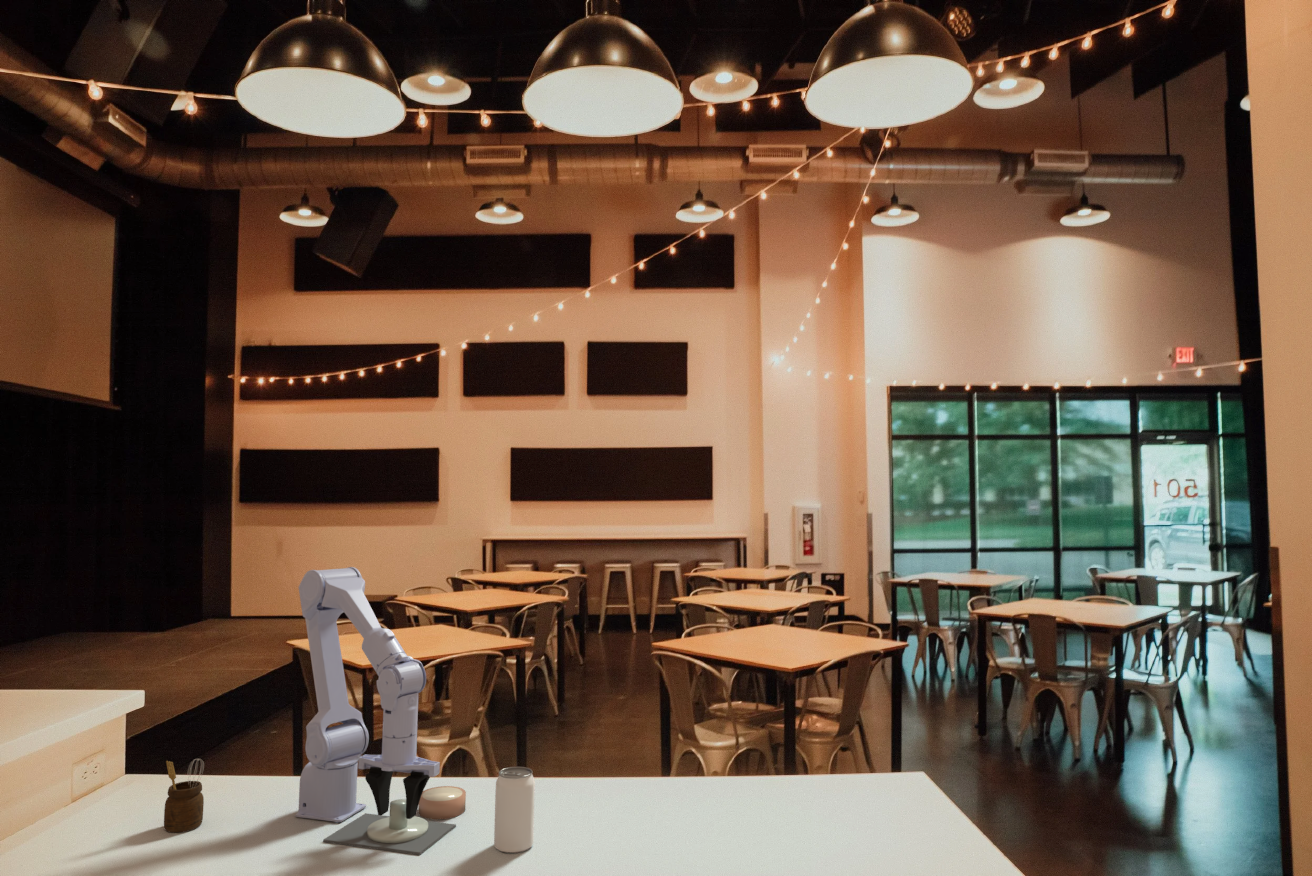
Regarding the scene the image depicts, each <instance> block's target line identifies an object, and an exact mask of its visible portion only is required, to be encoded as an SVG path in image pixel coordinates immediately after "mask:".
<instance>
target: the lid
mask: <svg viewBox="0 0 1312 876" xmlns="http://www.w3.org/2000/svg"><path fill="white" fill-rule="evenodd" d="M388 816H389V817H387V818H383V819H380V820H377V821H375V822H373V823H372V824H370V825H369V827H368V828H367V836H368V838H369V839H371V840H373V841H376V842H381V843H401V842H407V841H411V840H414V839H417V838H419V837H421V836H423V835H424V834H426V833H427V831H428V822H427V821H428V820H427V819H426V818H423V817H421V816H417V815H415V816H414V817H412V818H411V819H406V799H401V798H400V799H394V800H391V801H389V815H388Z"/></svg>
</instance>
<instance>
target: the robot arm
mask: <svg viewBox="0 0 1312 876" xmlns="http://www.w3.org/2000/svg"><path fill="white" fill-rule="evenodd" d="M365 590H366V580H365V579H364V578H363V576H362V574H361V571H360V570H359V569H358V568H357V567H354V566H348V567H345V568H332V569H310V570H307V571H306V572H305V574H304V575H303V577H302V579H301V581H300V583H299V585H298V592H299V598H300V600H299V601H300V606H301V607H300V608H301V613H302V617H303V618H304V619H305V620H304V621H305V626H306V633H307V640H308V647H309V654H310V660H311V667H312V669H311V670H312V675H313V682H314V689H315V690H314V691H315V696H316V703H317V710H318V711H317V713H316V714H315V715H314V716H313V717H312V719H311V720H310V721H309V722H308V723H307V725H306V726H305V729H306V741H305V755H306V757H307V760H308V763H307V764H305V766H304V767H303V769H302V771H301V774H300V777H299V787H298V788H299V793H298V812H296V813H295V817H296V818H304V819H311V820H319V821H327V822H335V823H342V822H343V821H345V820H348V818H350V817H352V816H353V815H355V814H357V813H359V812H360V811H362V810H363V809H366V807H367V804H365V803H359V802H357V792H358V789H357V788H358V787H357V786H358V770H366V769H367V770H368V769H369V771H368V772H367V774H365V781H366V782H367V784H368V787H369V788H370V790H371V793H372V795H373V798H374V803H375V806H376V811H377V815H383V816H384V814H386V813H387V812H389V809H390V793H391V792H390V790H391V783H392V779H393V774H394V772H395V773H396V772H398V773H405V774H410V775H408V776H406V777H404V778H403V779H402V782H403V787H404V791H405V800H406V819H411V818H412V817H414V816H417V814H418V813H417V812H418V806H419V801H420V798H421V795H422V792H423V791H424V789H425V787H426V786H427V784H428V782H429V780H430V778H431V777H432V778H435V777H436V776H437V775H439V774H440V769H441V768H440V767H441V764H440V763H441V762H440V761H435V760H430V759H427V758H423V757H419V756H417V749H418V747H417V744H418V722H419V721H418V720H419V719H418V717H419V716H418V715H419V713H418V712H419V693H421V692H422V691H424V689H425V687H426V684H427V672H426V670H425V667H424V665H423V663H422V662H421V661H420V660H419V659H414V658H413V656H412V655H411V656H410V655H407V653H406V652H405V650H404V648H403V647H402V645H401V644H400V642H399V640H398V639H397V638H396V634H394V632H393V631H392V630H391V629H389V628H384V627H382V626H381V623H380V622H379V620H378V618H377V617H376V614H375V612H374V610H373V609H372V607H371V604H370V603H369V601H368V598H367V597H366V594H365ZM343 613H344V614H345V616H346V617H347V618H348V620H349V621H350V622H351V623H352V624H353V626H354V627H355V629H356V630H357V632H358V633H359V634H360V635H361V637H362V638H363V641H362V643H361V650H362V651H363V653H364V655H365V656H366V658H367V659H368V661H369V663H370V665H371V666H372V668H373V669H374V671H375V672H376V675H377V676H378V679H377V680H376V689H377V691H378V694H379V697H380V706H381V709H382V711H383V714H382V740H381V754H365V752H366V751H367V748H368V746H369V740H370V735H369V730H368V728H367V727H366V725H365V722H364V719H363V713H362V711H360V710H358V709H357V708H355V707H354V706H352V705H350V703H349V698H348V690H347V683H346V676H345V671H344V669H345V668H344V663H343V657H342V650H341V643H340V636H339V629H338V625H337V624H338V623H337V622H338V621H337V620H338V619H339V617H340V616H341V615H342V614H343ZM336 723H341V724H337V725H334V726H330V725H333V724H336ZM328 726H330V727H328Z"/></svg>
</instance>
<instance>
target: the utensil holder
mask: <svg viewBox="0 0 1312 876" xmlns="http://www.w3.org/2000/svg"><path fill="white" fill-rule="evenodd" d="M195 761H196V763H195ZM199 761H201V766H202V768H200V771H199V772H201V773H202V774H203V772H204V771H203V770H204V768H205V766H204V764H205V763H204V761H202V759H201V758H195V759H193V760H192V762H189V765H188V769H187V772H188V775H189V778H191V776H192V772H191V771H190V770H192V768H193V767H191V766H193V764H194V763H195V765H196V766H195V769H194V770H195V771H194V772H193V774H194V776H193V780H191V779H189V780H187V781H186V780H185V781H180V782H175V781H176V780H175V779H177V776H176V771H175V766H174V762H173V761H168V760H166V761H165V763H166V768H167V769H166V770H167V772H168V773H167V774H168V778H169V779H170V780H171V783H172V784H171V785H170V786H169V787H168V789H167V796H168V797H167V798H166V800H165V803H164V810H163V811H164V813H163V815H164V816H163V828H164V831H165V832H166V833H172V834H175V833H176V834H179V833H186V832H189V831H192V830H193V831H194V830H195V829H197V828H199V827H200V826H201V825H202V823H203V820H204V819H203V818H204V805H205V804H204V802H205V801H204V794H203V793H202V791H203V785H202V782H201V781H200V780H195V777H196V775H197V774H196V772H198V769H197V767H198V766H199V764H198V762H199ZM201 773H198V774H199V775H198V778H197V779H200V778H201V776H202V774H201Z"/></svg>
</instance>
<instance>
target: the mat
mask: <svg viewBox="0 0 1312 876" xmlns="http://www.w3.org/2000/svg"><path fill="white" fill-rule="evenodd" d="M389 816H390V815H384V814H383V815H378V814H374V813H364V814H361V815H360V816H359V817H357V818H356V819H354V820H353V821H351V822H350V823H347V824H346V825H344V826H343V827H341V828H339V829H338V830H337V831H334V832H333V833H332V834H330V835H328V836H327V837H325V838H324V839H323V840H322V842H323V843H329V844H336V845H342V846H343V845H344V846H351V847H356V848H366V849H374V850H380V851H387V852H396V853H402V854H403V853H404V854H411V855H418V856H420V855H422V854H424V853H425V852H426V851H427V850H428V849H430V848H431V847H432V846H434V845H435V844H436V843H437V842H439V841H440V840H442V838H444V837H445V836H446V835H447V834H449V833H450V832H451V831H452V830H454V829H455V828H456V827H457V824H456V823H455V824H454V823H447V822H440V821H439V822H437V821H432V820H431V821H430V820H426V821H427V822H428V831H427V833H426V834H424V835H423V836H421V837H419V838H417V839H414V840H411V841H407V842H401V843H381V842H376V841H373V840H371V839H369V838H368V836H367V828H368V827H369V825H370V824H372V823H373V822H375V821H377V820H380V819H383V818H387V817H389Z"/></svg>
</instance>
